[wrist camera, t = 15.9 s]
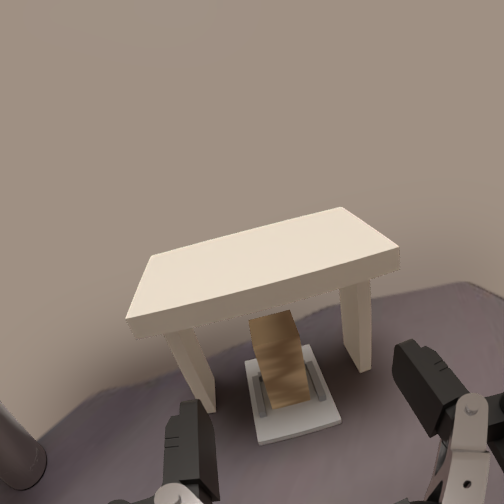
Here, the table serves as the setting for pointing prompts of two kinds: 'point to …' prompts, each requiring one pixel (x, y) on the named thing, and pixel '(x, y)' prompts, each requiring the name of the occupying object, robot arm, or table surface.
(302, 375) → the birch block
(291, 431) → the bench shelf
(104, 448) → the table surface
